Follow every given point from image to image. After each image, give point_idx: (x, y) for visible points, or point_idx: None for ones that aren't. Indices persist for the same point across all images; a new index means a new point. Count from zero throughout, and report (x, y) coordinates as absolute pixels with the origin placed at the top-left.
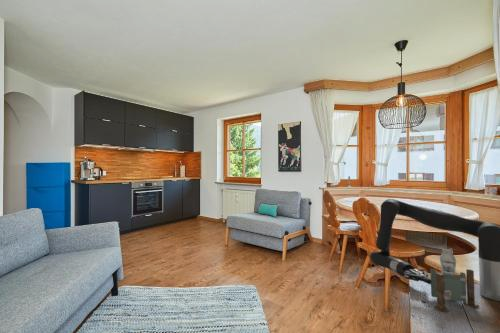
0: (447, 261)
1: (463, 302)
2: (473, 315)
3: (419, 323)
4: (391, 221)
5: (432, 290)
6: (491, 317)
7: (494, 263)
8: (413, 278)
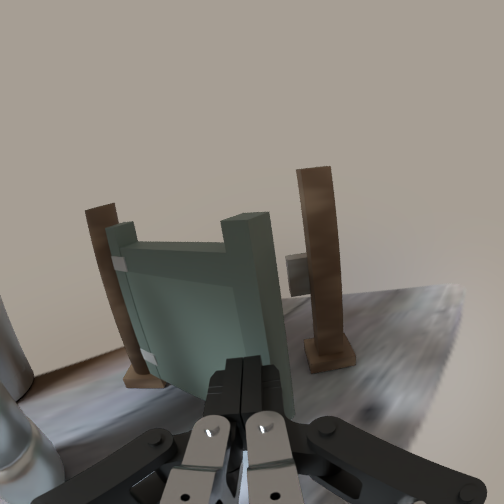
0: None
1: (162, 381)
2: None
3: (453, 293)
4: None
5: (288, 380)
6: None
7: None
8: (352, 496)
